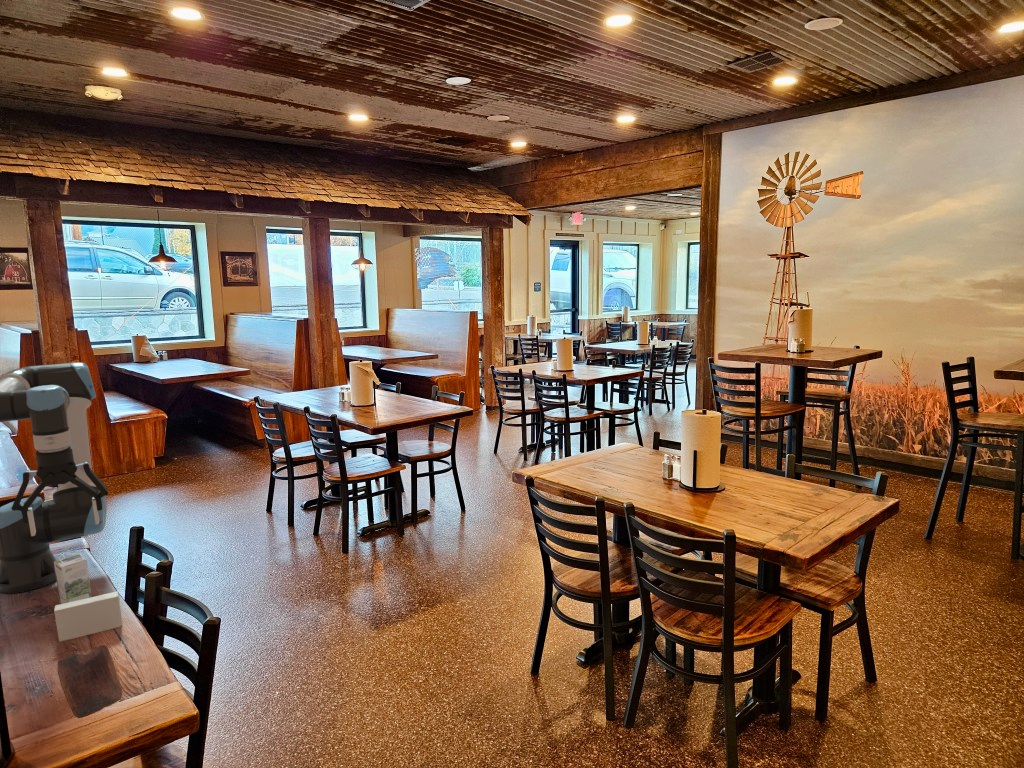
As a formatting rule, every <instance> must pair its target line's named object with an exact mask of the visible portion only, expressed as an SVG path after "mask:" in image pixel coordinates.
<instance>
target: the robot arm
mask: <svg viewBox="0 0 1024 768" xmlns="http://www.w3.org/2000/svg"><path fill="white" fill-rule="evenodd" d="M94 399H97V394H96V390H95V387H94V383H93V380H92V376H91V372H90V369H89V366H88V365H87V364H86V363H85V362H68V363H67V362H66V363H55V364H53V363H52V364H42V365H41V364H40V365H29V366H23V367H18V368H16V369H13V370H10V371H7V372H5V373H3V374H1V375H0V423H5V422H12V421H15V422H16V421H23V420H30V426H31V430H32V431H31V434H32V439H33V446H34V449H35V450H36V452H35V458H36V464H37V470H29V469H25V470H24V471H23V473H22V483H21V485H20V486H19V489H18V492H17V495H16V497H15V498H14V500H13V501H11V502H9V503H7V504H4V505H2V506H0V593H2V594H18V592H20V593H24V591H26V592H29V591H28V590H30V591H33V590H32V589H34V590H37V589H40V588H43V587H46V586H47V584H48V585H50V584H51V583H54V582H55V581H57V580H56V573H55V567H54V561H56V560H57V559H56V557H55V556H54V554H53V551H51V548H50V543H54V542H60V541H65V540H71V539H77V538H81V537H84V538H86V537H88V536H91V535H96V534H99V533H102V532H103V531H104V529H105V526H106V523H107V507H108V506H107V496H108V495H109V488H108V487H107V485H105V484H104V483H103V481H101V479H100V478H99V477H98V476H97V474H96V473H95V472H94V471H93V469H92V459H91V449H90V437H89V428H88V426H89V425H88V418H87V409H88V408H90V407H91V405H92V400H94ZM35 476H36V477H38V478H39V479H40V480H41V481H40V482H39V484H37V486H36V487H35V489H34V490H33V491H32V493H31V494H30V495H29V496H28V497H24V495H25V492H26V490H27V488H28V485H29V483H30V481H33V479H34V477H35ZM46 486H51V487H55V486H58V487H57V489H55V491H54V492H53V493H52V500H49V501H44V499H42V497H40V496H39V495H40V494H41V493H42V491H44V489H45V488H46ZM23 497H24V498H23ZM39 587H40V588H39ZM36 588H37V589H36Z"/></svg>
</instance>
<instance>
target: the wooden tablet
mask: <svg viewBox="0 0 1024 768" xmlns="http://www.w3.org/2000/svg"><path fill="white" fill-rule="evenodd" d="M57 671H58V677H59V681H60V682H61V686H62V689H63V691H64V694H65V696H66V699H67V701H68V704H69V707H70V708H71V711H72V712H73V714H74V715H75V716H76V717H78V718H82V717H85V716H89V715H92V714H96V713H97V712H100V711H101V710H103V709H105V708H108V707H110V706H112V705H114V704H115V703H117V702H119V701H120V700H121V698H122V695H123V691H122V690H123V689H122V685H121V681H120V679H119V676H118V673H117V669H116V667H115V662H114V661H113V657H112V655H111V653H110V649H109V647H107V645H105V644H103V645H102V644H101V645H99V646H97V647H95V648H93V649H92V650H90V651H89V652H87V653H74V654H71V655H67V656H64V657H61V658H59V659H58V661H57Z"/></svg>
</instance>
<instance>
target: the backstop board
mask: <svg viewBox="0 0 1024 768" xmlns="http://www.w3.org/2000/svg"><path fill="white" fill-rule="evenodd" d="M119 595H120V594H119V591H118V590H117V591H114V592H113V591H112V592H108V593H105V594H99V595H96V596H92V597H90V598H86V599H82V600H77V601H73V602H68V603H64V604H60V603H59V604H56V605H55V606H54V609H53V610H54V618H55V623H56V630H57V631H56V632H57V637H58V642H59V643H60V642H65V641H69V640H73V639H76V638H81V637H85V636H89V635H92V634H96V633H101V632H105V631H109V630H113V629H117V628H121V627H123V617H122V610H121V603H120V596H119ZM120 626H121V627H120ZM116 627H117V628H116Z"/></svg>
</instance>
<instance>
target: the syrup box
mask: <svg viewBox="0 0 1024 768" xmlns="http://www.w3.org/2000/svg"><path fill="white" fill-rule="evenodd" d="M54 567H55V573H56V580H55V581H56V585H57V586H56V587H57V590H58V592H57V593H58V599H59V604H64V603H68V602H73V601H77V600H82V599H86V598H90V597H93V596H92V590H91V583H90V575H89V569H88V568H89V567H88V560H87V559H86V558H85V557H84V556H83V555H81V554H80V553H76V554H73V555H70V556H67V557H64V558H63V557H62V558H60V559H56V561H54Z"/></svg>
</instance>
